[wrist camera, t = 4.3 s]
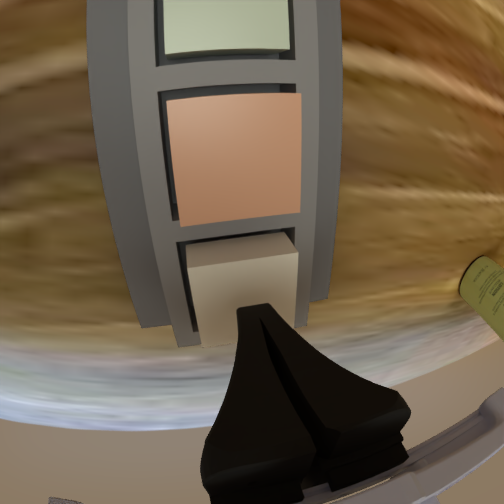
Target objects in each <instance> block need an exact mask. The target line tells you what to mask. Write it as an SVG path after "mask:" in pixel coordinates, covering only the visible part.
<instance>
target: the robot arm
mask: <svg viewBox="0 0 504 504" xmlns="http://www.w3.org/2000/svg"><path fill="white" fill-rule="evenodd" d="M236 315H237V326H238V342H237V350H236V356H235V362H234V367H233V371H232V375H231V379H230V383H229V386H228V389H227V392H226V395H225V398H224V401H223V403H222V406H221V408H220V411H219V413H218V415H217V418H216V420H215V422H214V424H213V426H212V428H211V430H210V432H209V434H208V436H207V438H206V440H205V445H204V449H203V453H202V458H201V465H200V473H201V478H202V483H203V486H204V488H205V489H206V491H207V492H208V494H209V496H210V501H211V504H323V503H326V502H329V501H332V500H335V499H338V498H341V497H344V496H346V495H349V494H352V493H354V492H357V491H360V490H362V489H364V488H367V487H370V486H372V485H374V484H377V483H379V482H381V481H383V480H386V479H388V478H390V477H391V478H390V480H388V481H386V482H384V483H382V484H379V485H377V486H375V487H372V488H370V489H368V490H365V491H362V492H360V493H357V494H355V495H352V496H350V497H347V498H344V499H342V500H339V501H335V502H333V503H330V504H440V503H439V501H438V499H437V497H436V496H437V495H439V494H440V493H442V492H443V491H444V490H447V489H448V488H450V487H451V486H453V485H454V484H456V483H457V482H459V481H460V480H461V479H463V478H464V477H466V476H467V475H468V474H470V473H471V472H473V471H474V470H475V469H476V468H478V467H479V466H480V465H482V464H483V463H484V462H485V461H487V460H488V459H489V458H490V457H492V456H493V455H494V454H495V453H496V452H498V451H499V450H500V449H501V448H502V447H504V388H500V389H499V390H497V391H496V392H495V393H493V394H492V395H490V396H489V397H488V398H487V399H486V400H485V401H484V402H483V403H482V404H481V405H480V407H479V409H478V410H476V411H475V412H473V413H472V414H470V415H469V416H467V417H466V418H464V419H463V420H461V421H459V422H458V423H456V424H455V425H453V426H451V427H449V428H448V429H446V430H444V431H443V432H441V433H439V434H437V435H436V436H434V437H432V438H430V439H428V440H427V441H425V442H423V443H421V444H419V445H417V446H415V447H413V448H411V449H409V450H407V451H406V450H405V448H404V446H403V445H402V441H403V436H402V435H401V433H400V431H401V429H402V428H403V427H404V425H405V424H406V423H407V421H408V419H409V418H410V415H411V410H410V408H409V407H408V405H407V403H406V402H405V400H404V399H403V398H402V397H401V395H400V394H399V393H398V392H397V391H395V390H392V389H389V388H387V387H384V386H381V385H378V384H375V383H373V382H371V381H368V380H366V379H364V378H362V377H359V376H358V375H356V374H354V373H352V372H350V371H348V370H346V369H345V368H343V367H341V366H339V365H338V364H336V363H335V362H333V361H332V360H330V359H329V358H327V357H326V356H324V355H323V354H322V353H320V352H319V351H318V350H316V349H315V348H314V347H313V346H311V345H310V344H309V343H308V342H307V341H306V340H304V339H303V338H302V337H301V336H300V335H299V334H298V333H297V332H296V331H295V330H294V329H293V328H292V327H291V326H290V325H289V324H288V323H287V322H286V321H285V320H284V319H283V318H282V317H281V316H280V315H279V314H278V313H277V311H276V310H275V309H274V308H273V307H272V305H271V304H269V303H263V304H257V305H251V306H245V307H239V308H238V309H237V310H236ZM392 476H393V477H392ZM48 504H83V503H81V502H78V501H73V500H67V499H61V498H55V497H49V503H48Z"/></svg>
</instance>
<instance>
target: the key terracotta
mask: <svg viewBox="0 0 504 504" xmlns="http://www.w3.org/2000/svg"><path fill="white" fill-rule="evenodd" d="M166 102H167V114H168V126H169V136H170V146H171V156H172V164H173V173H174V181H175V189H176V197H177V205H178V212H179V219H180V226H181V227H185V226H192V225H199V224H207V223H215V222H223V221H230V220H239V219H247V218H255V217H264V216H272V215H281V214H290V213H300V199H301V139H302V113H301V93H241V94H223V95H210V96H199V97H189V98H180V99H172V100H167V101H166Z"/></svg>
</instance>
